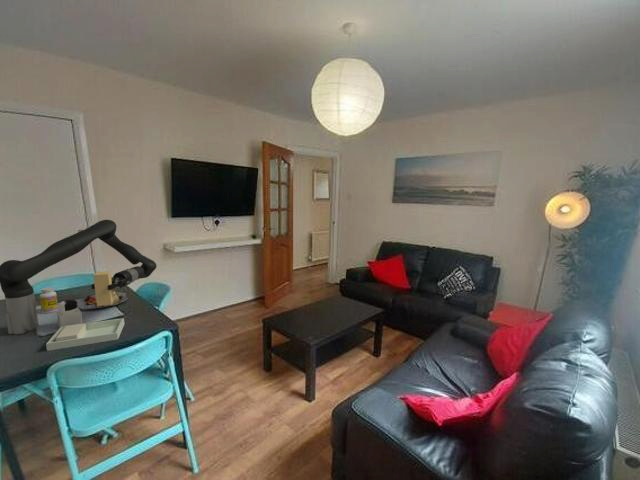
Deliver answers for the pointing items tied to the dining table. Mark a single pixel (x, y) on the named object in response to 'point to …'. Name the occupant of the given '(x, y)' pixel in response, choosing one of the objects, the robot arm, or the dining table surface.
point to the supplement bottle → (48, 300)
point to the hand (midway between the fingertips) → (100, 287)
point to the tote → (90, 334)
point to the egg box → (72, 332)
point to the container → (69, 313)
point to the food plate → (92, 301)
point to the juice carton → (103, 288)
